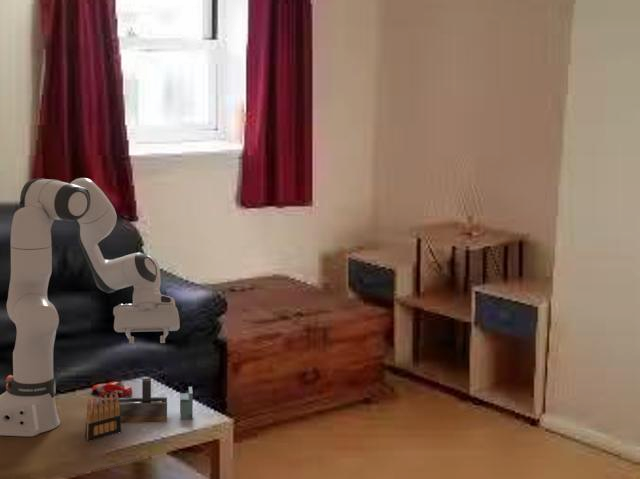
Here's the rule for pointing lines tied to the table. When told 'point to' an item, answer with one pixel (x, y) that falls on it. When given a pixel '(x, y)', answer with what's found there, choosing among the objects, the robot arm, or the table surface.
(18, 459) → the table surface
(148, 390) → the tube
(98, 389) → the race car
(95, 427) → the ammunition clip
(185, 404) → the socket block
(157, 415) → the channel tray
